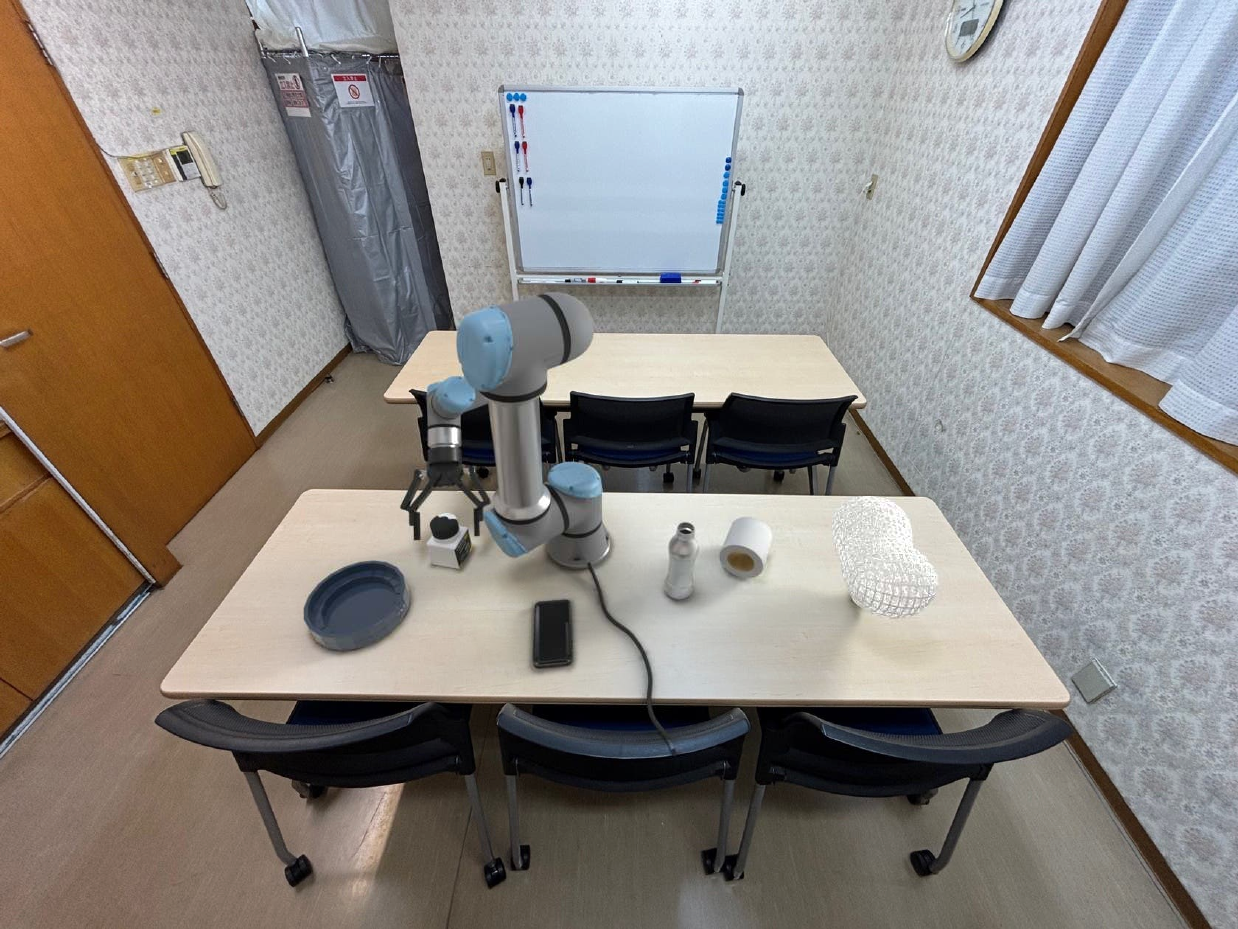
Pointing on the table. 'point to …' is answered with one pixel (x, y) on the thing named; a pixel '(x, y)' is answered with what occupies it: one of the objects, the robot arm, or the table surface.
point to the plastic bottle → (681, 562)
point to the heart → (882, 559)
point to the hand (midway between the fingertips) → (447, 538)
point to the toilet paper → (746, 547)
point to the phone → (552, 634)
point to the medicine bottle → (448, 541)
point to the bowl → (357, 605)
